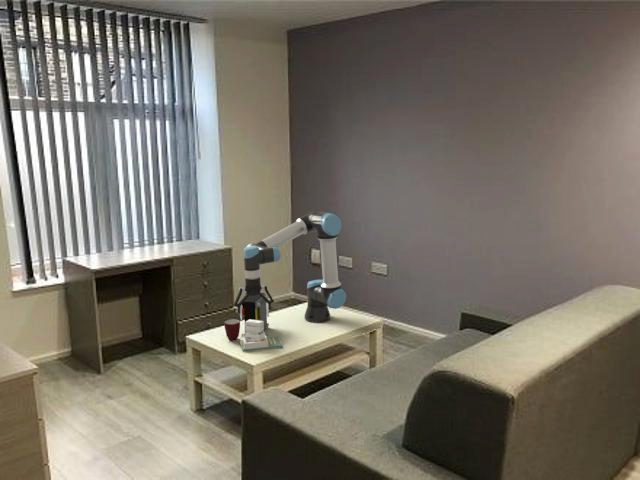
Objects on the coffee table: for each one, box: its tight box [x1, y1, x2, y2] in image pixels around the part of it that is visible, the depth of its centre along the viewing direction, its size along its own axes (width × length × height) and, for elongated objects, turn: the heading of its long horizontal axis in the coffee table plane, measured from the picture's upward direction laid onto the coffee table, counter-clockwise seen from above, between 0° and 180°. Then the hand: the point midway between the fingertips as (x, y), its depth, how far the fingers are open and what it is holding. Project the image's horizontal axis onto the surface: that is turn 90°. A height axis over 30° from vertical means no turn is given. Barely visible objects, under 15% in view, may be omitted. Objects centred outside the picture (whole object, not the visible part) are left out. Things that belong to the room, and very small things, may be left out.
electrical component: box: [241, 292, 270, 331], centre depth 290 cm, size 18×10×20 cm, turn 168°
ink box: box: [244, 319, 265, 343], centre depth 272 cm, size 9×5×12 cm, turn 71°
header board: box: [239, 331, 283, 353], centre depth 274 cm, size 20×14×4 cm
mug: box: [224, 318, 241, 342], centre depth 281 cm, size 11×8×10 cm
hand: (254, 317), depth 271 cm, fingers open, 13 cm apart
